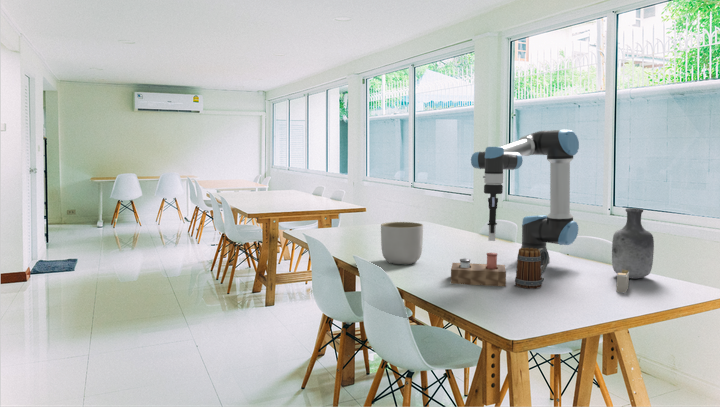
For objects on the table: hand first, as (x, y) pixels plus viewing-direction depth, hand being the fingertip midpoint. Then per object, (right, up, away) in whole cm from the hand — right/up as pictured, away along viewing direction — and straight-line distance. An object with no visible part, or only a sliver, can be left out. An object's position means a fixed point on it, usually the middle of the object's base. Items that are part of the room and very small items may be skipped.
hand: (491, 240), depth 220 cm
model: (+49, -19, -11) cm, 54 cm away
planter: (-34, -14, +41) cm, 56 cm away
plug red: (0, -15, +2) cm, 15 cm away
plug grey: (-10, -17, +4) cm, 21 cm away
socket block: (-5, -17, +3) cm, 18 cm away
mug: (+16, -18, -4) cm, 24 cm away
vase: (+63, -17, +9) cm, 66 cm away
